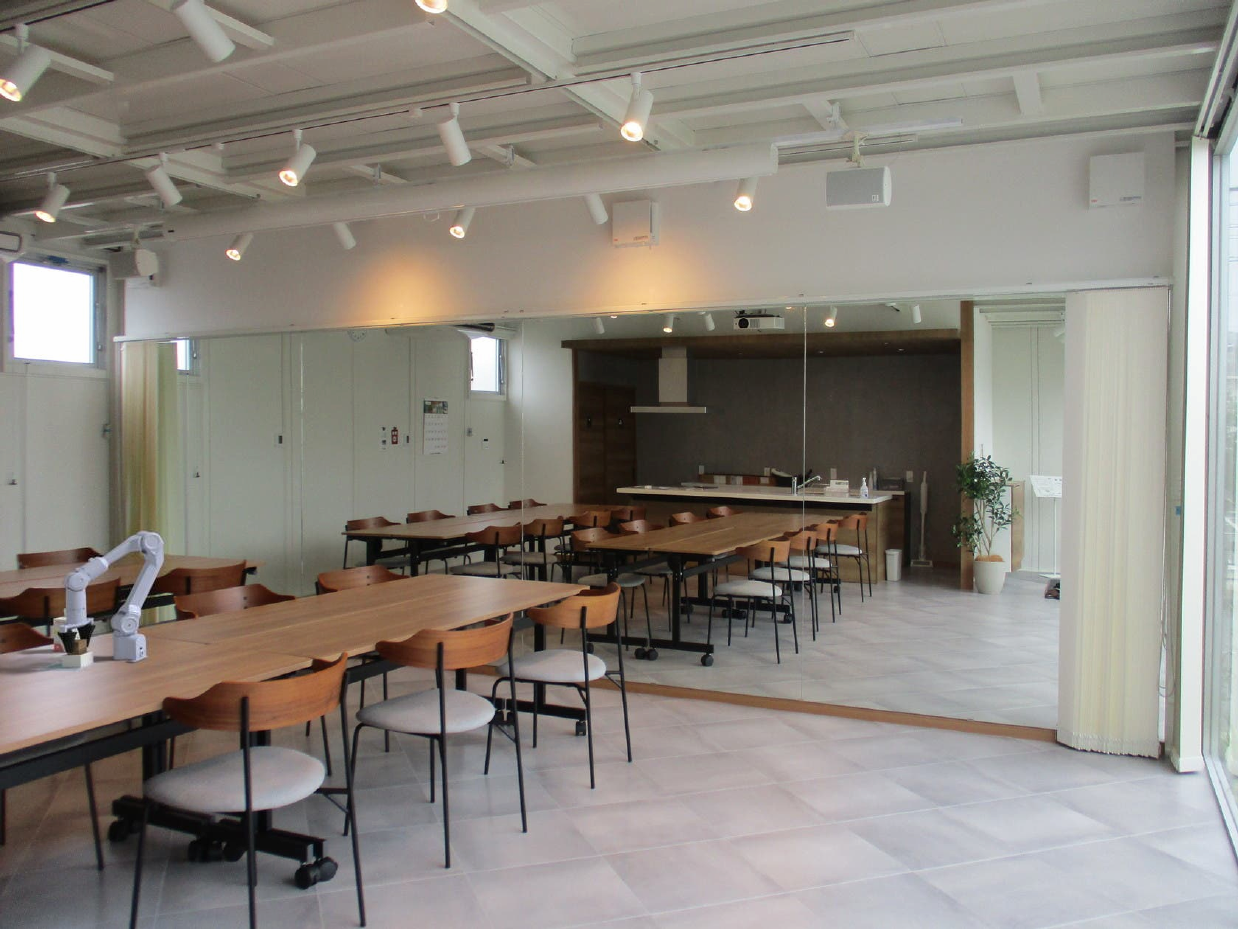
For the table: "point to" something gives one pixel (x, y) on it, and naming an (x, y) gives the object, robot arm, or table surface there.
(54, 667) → the blueprint board
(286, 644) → the table surface
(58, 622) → the ink cartridge box
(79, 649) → the walnut block
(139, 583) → the robot arm
